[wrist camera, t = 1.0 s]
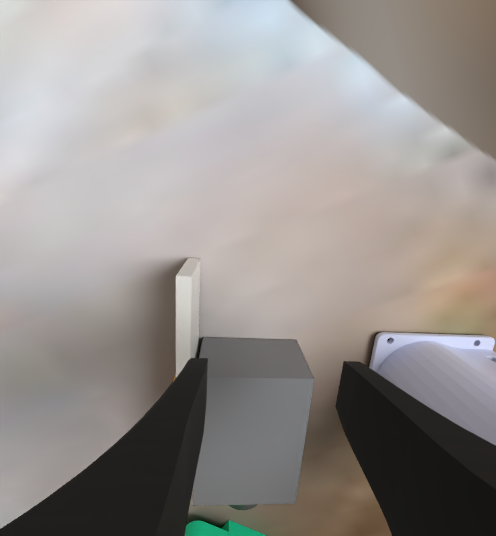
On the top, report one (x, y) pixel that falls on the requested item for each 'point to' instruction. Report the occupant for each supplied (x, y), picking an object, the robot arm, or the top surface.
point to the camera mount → (219, 530)
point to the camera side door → (187, 313)
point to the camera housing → (253, 422)
